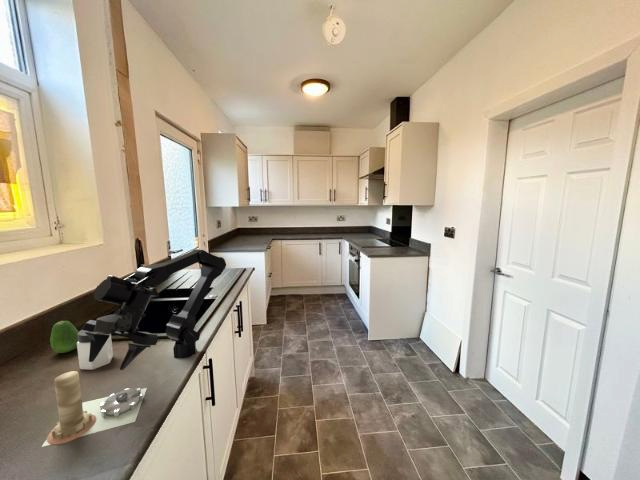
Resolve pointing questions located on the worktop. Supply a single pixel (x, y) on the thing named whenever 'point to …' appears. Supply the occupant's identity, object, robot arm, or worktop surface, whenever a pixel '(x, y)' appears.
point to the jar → (84, 350)
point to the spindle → (69, 407)
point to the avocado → (63, 337)
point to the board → (98, 420)
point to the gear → (121, 402)
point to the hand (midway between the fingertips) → (106, 365)
